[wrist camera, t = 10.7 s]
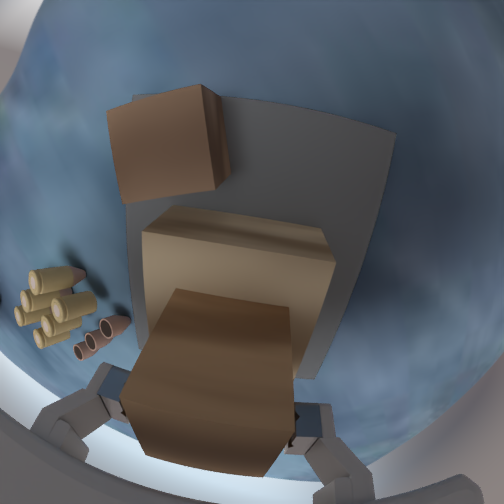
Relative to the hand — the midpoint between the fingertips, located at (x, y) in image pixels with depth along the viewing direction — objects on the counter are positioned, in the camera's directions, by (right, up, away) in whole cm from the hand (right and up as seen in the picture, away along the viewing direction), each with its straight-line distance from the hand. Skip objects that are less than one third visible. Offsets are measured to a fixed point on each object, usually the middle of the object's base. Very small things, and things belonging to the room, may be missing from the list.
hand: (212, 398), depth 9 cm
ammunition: (-12, +2, +10) cm, 16 cm away
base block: (+1, +3, +7) cm, 8 cm away
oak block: (0, +2, +3) cm, 4 cm away
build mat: (+1, +5, +7) cm, 8 cm away
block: (-2, +11, +3) cm, 12 cm away
